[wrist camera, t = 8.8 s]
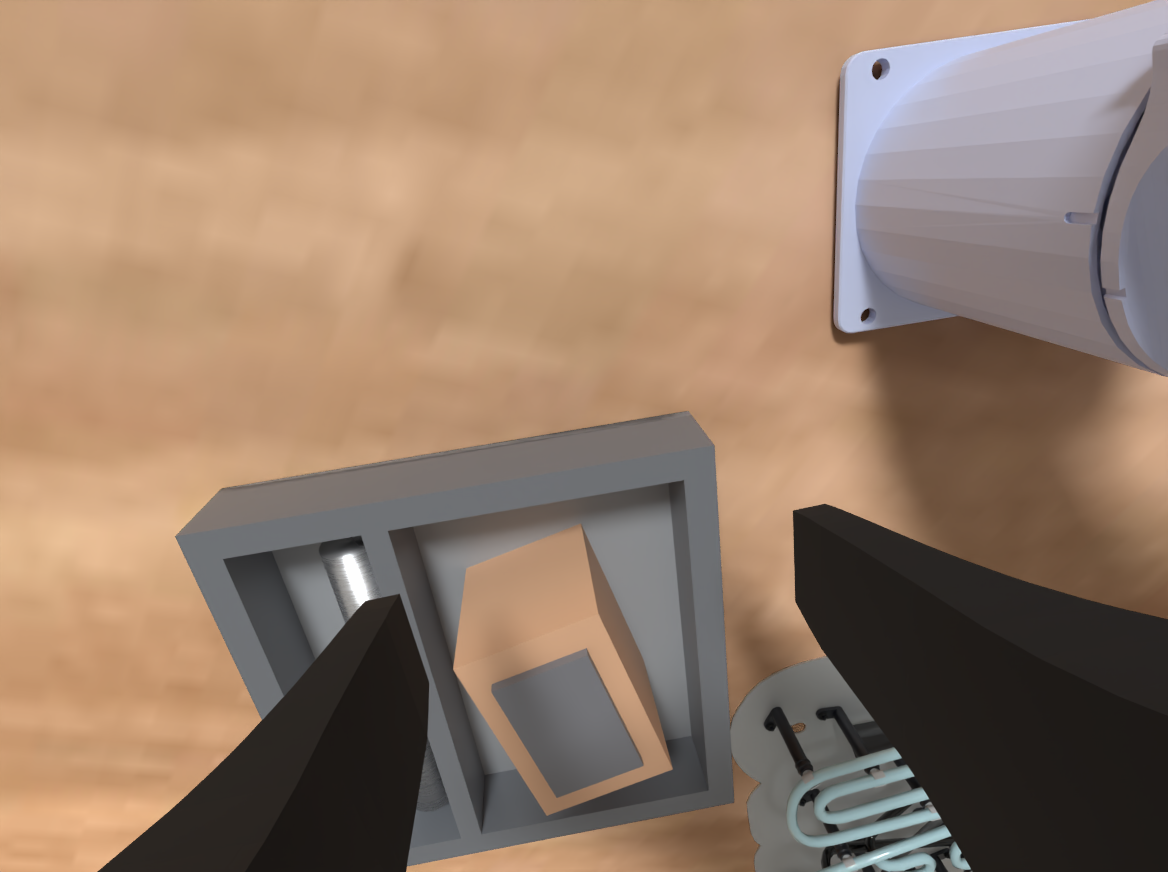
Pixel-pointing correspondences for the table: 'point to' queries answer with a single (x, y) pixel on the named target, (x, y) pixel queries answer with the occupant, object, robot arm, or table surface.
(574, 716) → the block
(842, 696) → the neon sign
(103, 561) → the table surface
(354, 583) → the rod
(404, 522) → the grey divided tray
